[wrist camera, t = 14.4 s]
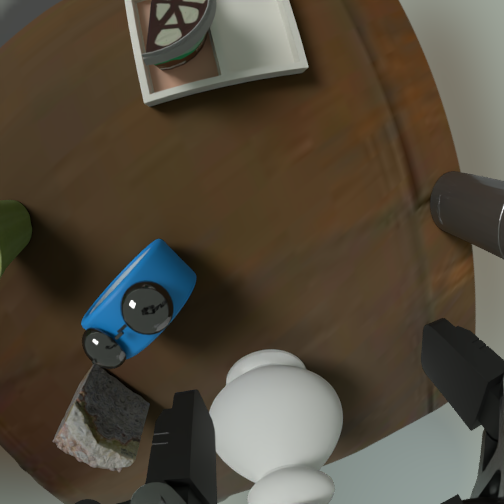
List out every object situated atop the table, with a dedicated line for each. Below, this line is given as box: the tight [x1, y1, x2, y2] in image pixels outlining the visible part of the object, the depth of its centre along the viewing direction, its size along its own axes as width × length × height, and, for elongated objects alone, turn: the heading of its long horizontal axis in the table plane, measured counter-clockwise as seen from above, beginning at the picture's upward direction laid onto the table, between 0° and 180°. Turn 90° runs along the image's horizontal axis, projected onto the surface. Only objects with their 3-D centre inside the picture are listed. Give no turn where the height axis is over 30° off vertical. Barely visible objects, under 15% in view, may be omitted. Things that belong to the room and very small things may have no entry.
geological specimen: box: [53, 364, 150, 473], centre depth 38 cm, size 11×6×15 cm, turn 47°
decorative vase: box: [209, 349, 343, 504], centre depth 35 cm, size 18×18×25 cm
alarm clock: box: [81, 239, 196, 369], centre depth 33 cm, size 13×6×15 cm, turn 130°
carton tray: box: [125, 0, 308, 107], centre depth 30 cm, size 18×16×3 cm
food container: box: [142, 0, 216, 71], centre depth 26 cm, size 12×6×10 cm, turn 178°
